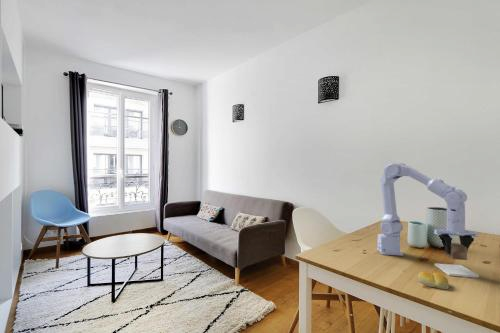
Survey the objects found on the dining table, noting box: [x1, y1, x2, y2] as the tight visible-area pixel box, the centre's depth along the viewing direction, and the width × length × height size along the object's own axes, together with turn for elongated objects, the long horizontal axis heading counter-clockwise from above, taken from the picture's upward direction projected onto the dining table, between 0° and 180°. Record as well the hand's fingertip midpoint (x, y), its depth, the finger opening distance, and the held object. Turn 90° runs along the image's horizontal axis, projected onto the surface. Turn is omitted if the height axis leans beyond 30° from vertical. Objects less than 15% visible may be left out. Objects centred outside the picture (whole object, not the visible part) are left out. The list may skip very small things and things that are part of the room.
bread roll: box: [417, 270, 450, 290], centre depth 88 cm, size 8×9×4 cm
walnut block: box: [444, 242, 468, 261], centre depth 98 cm, size 5×5×5 cm
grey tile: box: [434, 262, 480, 279], centre depth 98 cm, size 10×10×1 cm
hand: (455, 253), depth 98 cm, fingers closed on walnut block, 5 cm apart
